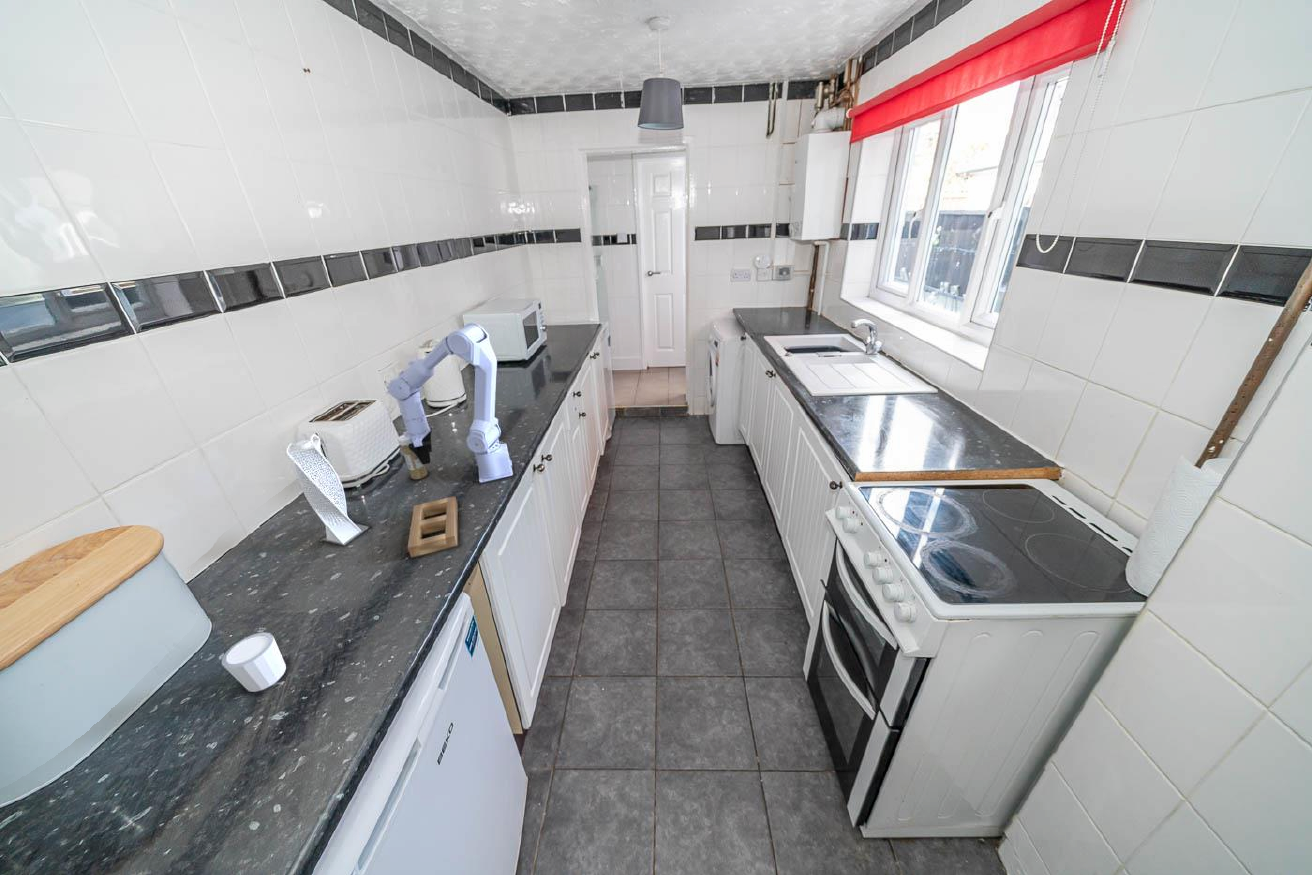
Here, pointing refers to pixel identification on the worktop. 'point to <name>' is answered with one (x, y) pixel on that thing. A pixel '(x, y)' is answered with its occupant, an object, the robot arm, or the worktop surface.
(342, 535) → the skyscraper
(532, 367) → the worktop surface
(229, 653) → the white faceted cup
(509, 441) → the worktop surface
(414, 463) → the sprinkles bottle
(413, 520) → the holder
